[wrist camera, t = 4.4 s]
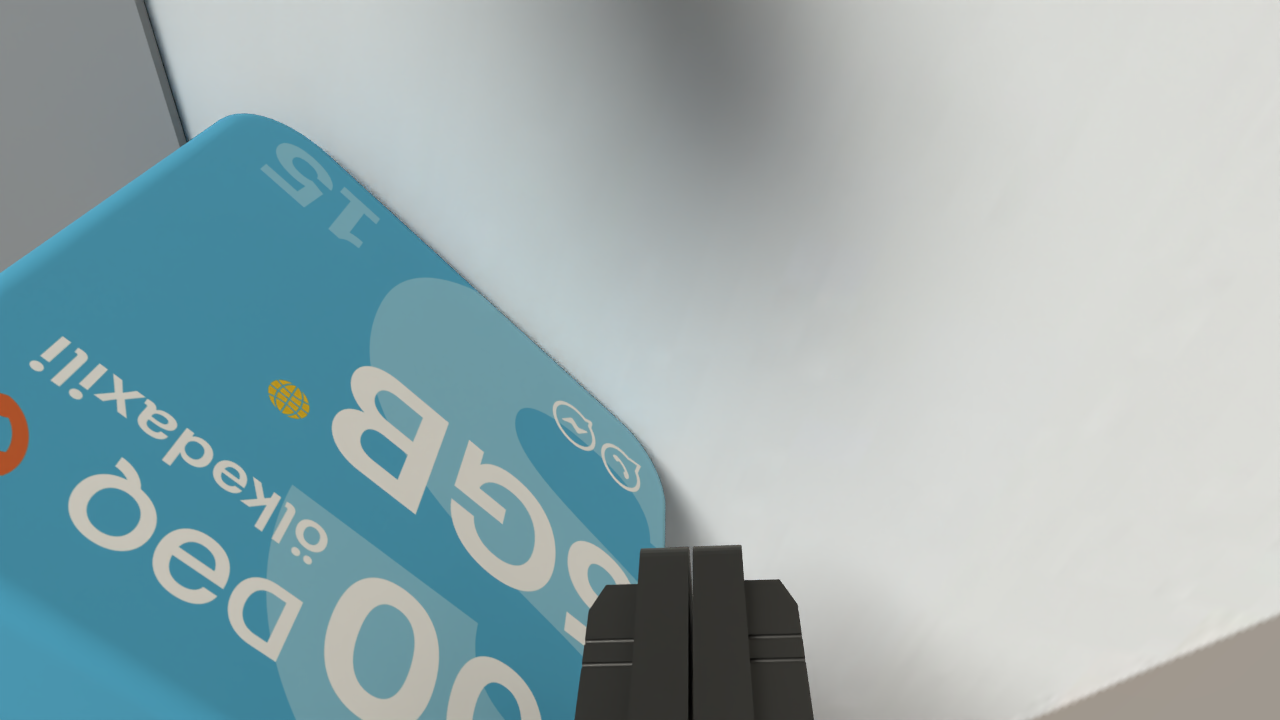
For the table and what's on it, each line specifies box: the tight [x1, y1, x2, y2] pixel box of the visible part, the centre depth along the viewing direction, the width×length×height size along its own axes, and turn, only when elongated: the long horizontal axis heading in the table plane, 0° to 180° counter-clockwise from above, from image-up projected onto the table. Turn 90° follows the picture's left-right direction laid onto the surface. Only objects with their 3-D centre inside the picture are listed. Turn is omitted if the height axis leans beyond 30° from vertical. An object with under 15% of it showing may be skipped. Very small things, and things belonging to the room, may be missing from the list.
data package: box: [0, 114, 665, 720], centre depth 16 cm, size 12×4×12 cm, turn 43°
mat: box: [0, 0, 186, 273], centre depth 22 cm, size 11×20×1 cm, turn 4°
